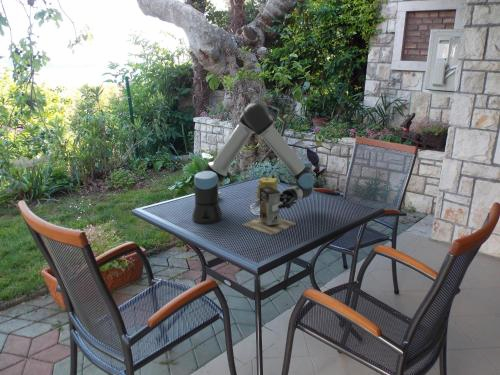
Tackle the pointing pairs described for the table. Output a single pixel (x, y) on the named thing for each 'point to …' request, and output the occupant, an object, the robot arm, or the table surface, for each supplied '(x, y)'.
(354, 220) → the table surface
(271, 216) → the coffee box
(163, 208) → the table surface
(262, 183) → the cheese
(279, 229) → the board
